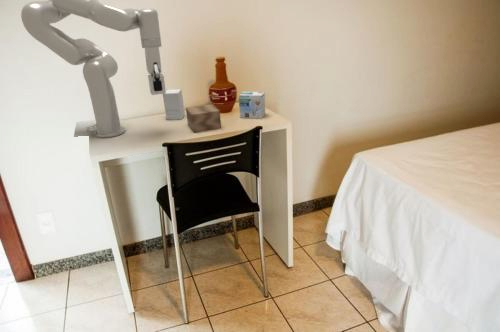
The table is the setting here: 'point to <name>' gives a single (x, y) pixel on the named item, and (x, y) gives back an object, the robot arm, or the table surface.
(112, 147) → the table surface
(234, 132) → the table surface
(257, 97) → the light bulb box
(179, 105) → the supplement box
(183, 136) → the table surface
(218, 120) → the walnut block
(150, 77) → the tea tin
